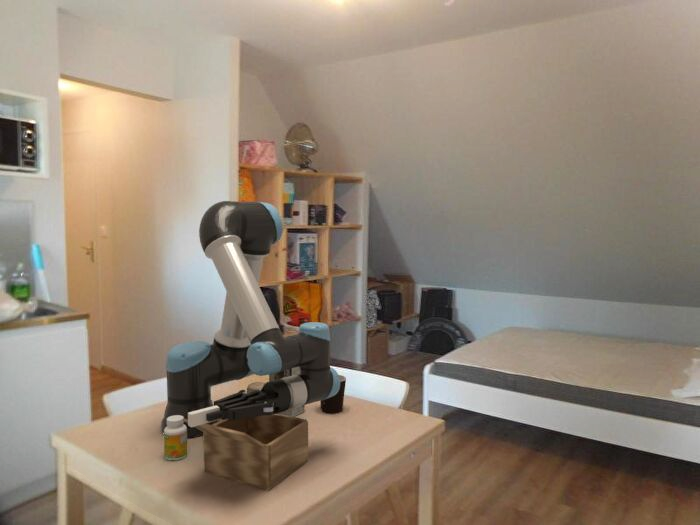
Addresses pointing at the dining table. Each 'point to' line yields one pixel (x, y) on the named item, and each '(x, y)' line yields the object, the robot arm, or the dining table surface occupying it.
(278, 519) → the dining table surface
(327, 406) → the coffee mug
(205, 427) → the flap
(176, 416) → the supplement bottle
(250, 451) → the wooden open box
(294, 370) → the coffee box
